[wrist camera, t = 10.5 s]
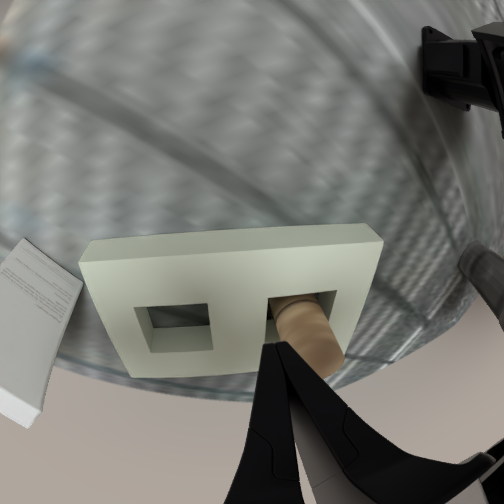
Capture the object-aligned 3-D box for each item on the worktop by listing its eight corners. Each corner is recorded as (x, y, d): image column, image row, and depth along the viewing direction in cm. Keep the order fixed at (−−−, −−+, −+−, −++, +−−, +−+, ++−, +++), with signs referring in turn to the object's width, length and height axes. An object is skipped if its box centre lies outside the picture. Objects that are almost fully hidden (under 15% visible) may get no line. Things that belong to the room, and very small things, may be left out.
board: (365, 223, 22) (384, 241, 19) (334, 335, 29) (343, 356, 27) (91, 240, 18) (78, 262, 16) (134, 354, 26) (131, 377, 23)
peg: (315, 275, 24) (351, 345, 17) (308, 309, 26) (337, 376, 19) (269, 279, 23) (294, 356, 16) (266, 314, 25) (287, 386, 19)
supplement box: (8, 284, 19) (-44, 382, 8) (24, 234, 17) (-55, 346, 6) (62, 323, 22) (28, 431, 12) (87, 283, 20) (42, 414, 10)
